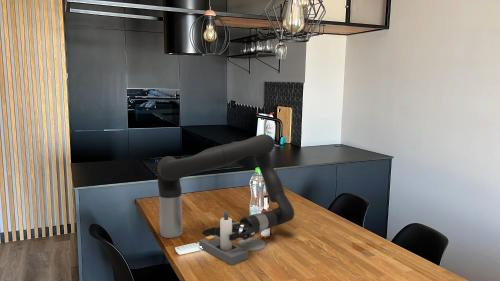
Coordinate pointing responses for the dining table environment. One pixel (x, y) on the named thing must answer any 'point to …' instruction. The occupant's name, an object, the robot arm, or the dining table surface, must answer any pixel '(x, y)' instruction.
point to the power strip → (230, 257)
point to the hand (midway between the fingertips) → (222, 234)
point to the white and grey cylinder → (225, 232)
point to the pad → (251, 244)
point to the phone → (211, 232)
